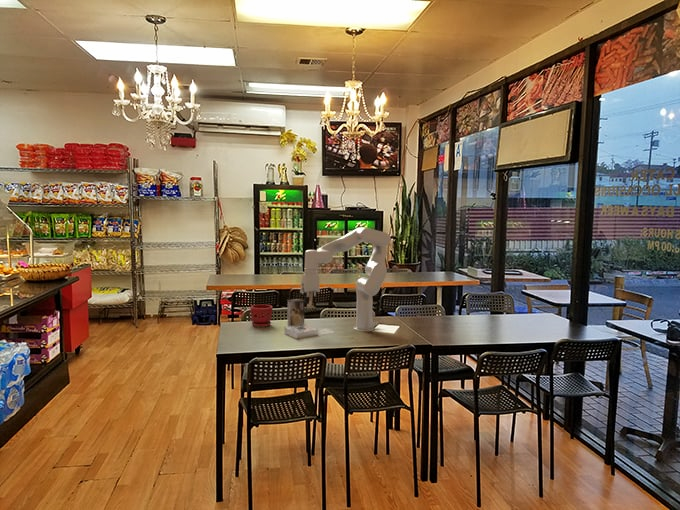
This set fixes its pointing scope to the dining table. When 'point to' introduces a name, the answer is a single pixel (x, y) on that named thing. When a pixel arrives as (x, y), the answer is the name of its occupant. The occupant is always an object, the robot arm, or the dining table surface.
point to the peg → (310, 300)
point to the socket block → (300, 331)
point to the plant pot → (261, 315)
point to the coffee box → (295, 312)
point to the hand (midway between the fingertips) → (309, 303)
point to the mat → (325, 331)
